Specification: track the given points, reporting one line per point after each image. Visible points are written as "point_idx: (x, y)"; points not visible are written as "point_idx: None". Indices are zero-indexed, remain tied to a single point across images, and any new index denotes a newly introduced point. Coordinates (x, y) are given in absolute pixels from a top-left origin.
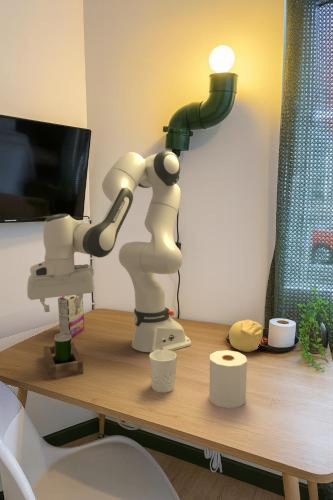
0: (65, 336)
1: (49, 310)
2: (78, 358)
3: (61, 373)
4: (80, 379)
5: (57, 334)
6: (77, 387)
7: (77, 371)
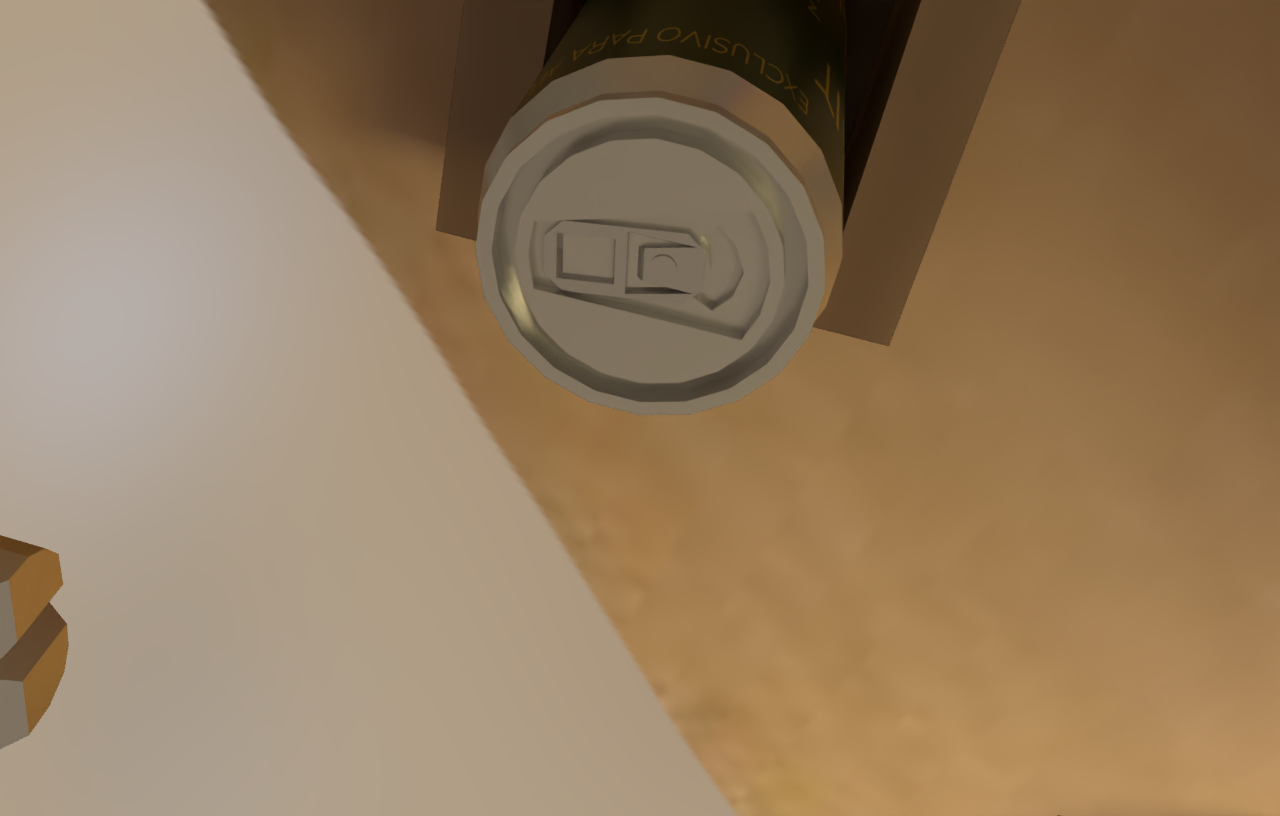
0: (670, 361)
1: (39, 714)
2: (900, 210)
3: None
4: None
5: (571, 127)
6: (679, 480)
7: None
